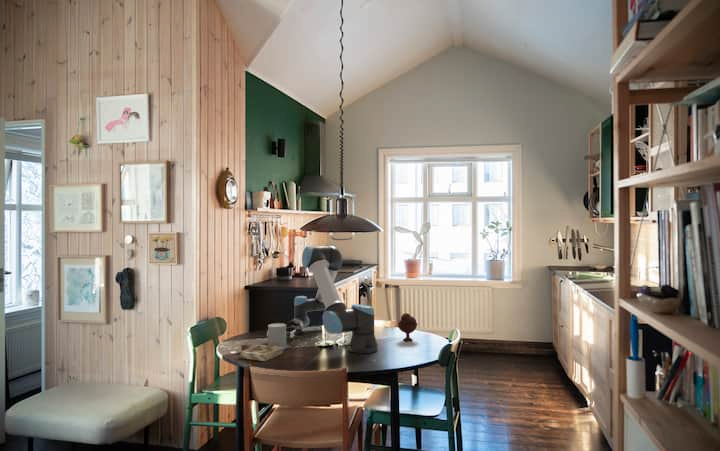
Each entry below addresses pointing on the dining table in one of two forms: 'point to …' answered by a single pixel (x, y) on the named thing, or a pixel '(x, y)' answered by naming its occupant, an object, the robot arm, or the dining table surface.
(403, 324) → the ice cream bowl
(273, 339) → the speckled tin can
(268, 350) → the oak tray
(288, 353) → the dining table surface
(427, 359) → the dining table surface
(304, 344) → the dining table surface
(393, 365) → the dining table surface
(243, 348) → the walnut block
